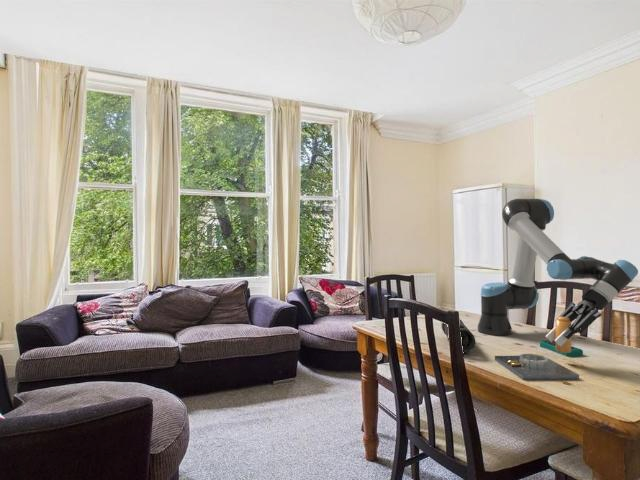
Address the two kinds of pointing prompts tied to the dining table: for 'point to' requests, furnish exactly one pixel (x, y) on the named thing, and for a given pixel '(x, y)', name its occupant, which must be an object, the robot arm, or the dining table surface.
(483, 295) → the robot arm
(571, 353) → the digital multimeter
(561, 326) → the orange cylinder
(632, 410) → the dining table surface
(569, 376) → the plate
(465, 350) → the muzzle brake
